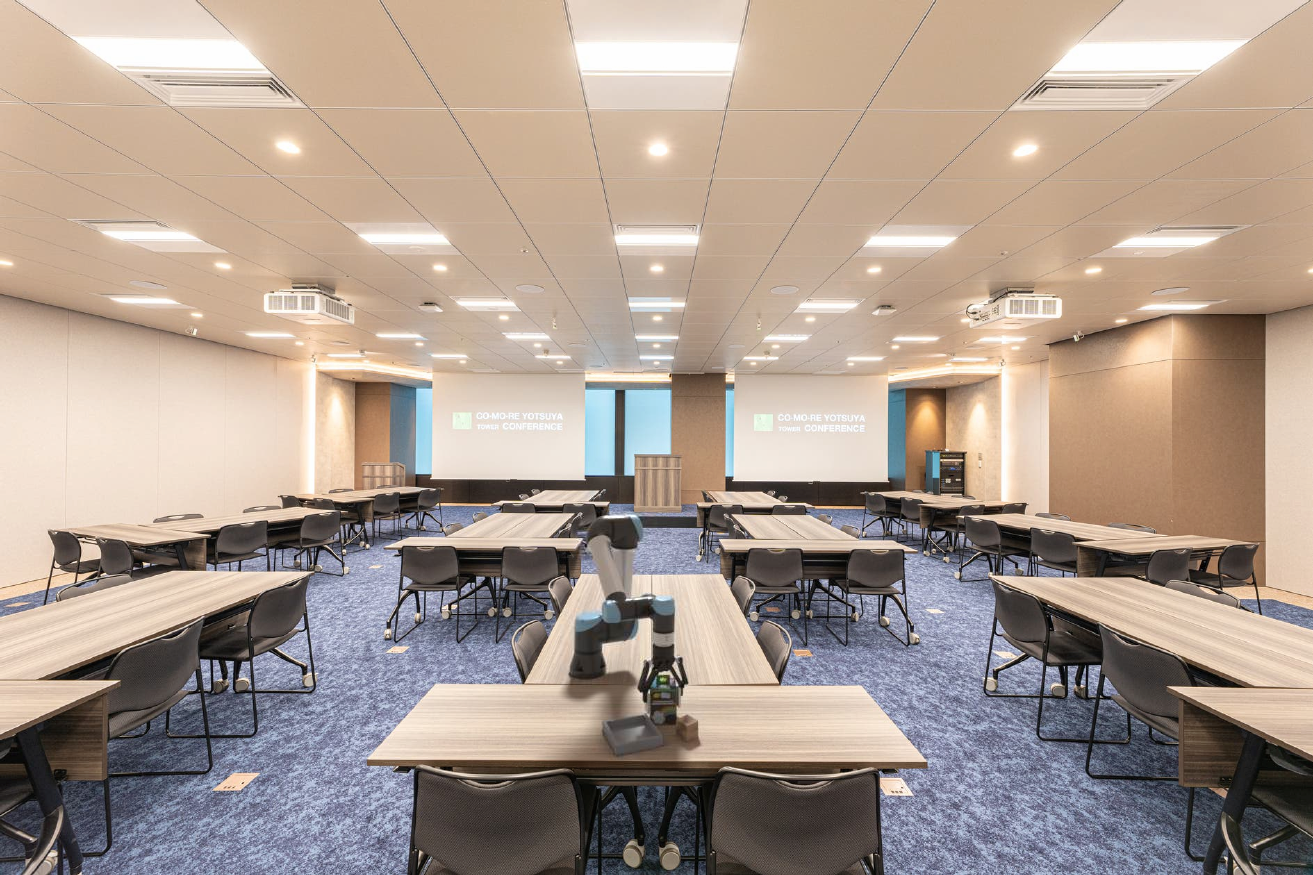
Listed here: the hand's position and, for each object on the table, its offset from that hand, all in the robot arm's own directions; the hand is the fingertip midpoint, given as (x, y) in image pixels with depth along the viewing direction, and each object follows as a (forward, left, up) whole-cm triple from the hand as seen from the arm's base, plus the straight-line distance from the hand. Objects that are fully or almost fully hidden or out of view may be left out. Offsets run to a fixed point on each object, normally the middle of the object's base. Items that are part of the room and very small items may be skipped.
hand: (662, 708), depth 168 cm
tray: (+8, -14, -3) cm, 16 cm away
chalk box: (0, 0, -3) cm, 3 cm away
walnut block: (+13, +3, -3) cm, 14 cm away
